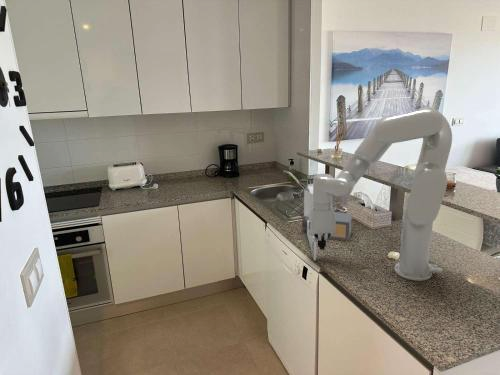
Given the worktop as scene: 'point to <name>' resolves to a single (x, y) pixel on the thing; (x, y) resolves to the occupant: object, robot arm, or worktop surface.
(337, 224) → the cabinet with open door
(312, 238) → the side door
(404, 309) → the worktop surface
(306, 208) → the milk carton
